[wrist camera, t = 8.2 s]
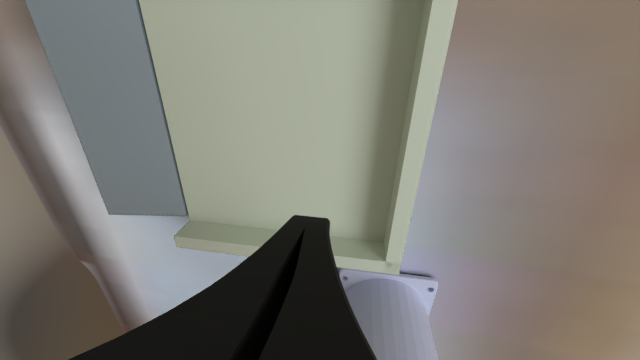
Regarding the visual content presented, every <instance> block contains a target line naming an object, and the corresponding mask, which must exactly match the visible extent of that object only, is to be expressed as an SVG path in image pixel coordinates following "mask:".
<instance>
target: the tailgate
mask: <svg viewBox="0 0 640 360" xmlns="http://www.w3.org/2000/svg"><path fill="white" fill-rule="evenodd" d="M25 2H26V4H27V7H28V9H29V12H30V14H31V17H32V19H33V22H34V25H35V27H36V30H37V32H38V35H39V37H40V40H41V42H42V45H43V48H44V50H45V53H46V55H47V58H48V60H49V63H50V65H51V68H52V71H53V73H54V76H55V78H56V81H57V83H58V86H59V88H60V91H61V94H62V96H63V99H64V101H65V104H66V106H67V109H68V111H69V114H70V116H71V119H72V122H73V124H74V127H75V129H76V132H77V134H78V137H79V139H80V142H81V145H82V147H83V150H84V152H85V155H86V157H87V160H88V162H89V165H90V168H91V170H92V173H93V175H94V178H95V180H96V183H97V185H98V188H99V191H100V193H101V196H102V198H103V201H104V203H105V206H106V208H107V211H108V214H109V215H156V216H187V215H188V210H187V206H186V201H185V197H184V193H183V188H182V184H181V180H180V176H179V171H178V167H177V163H176V158H175V154H174V150H173V145H172V141H171V137H170V132H169V128H168V124H167V120H166V115H165V111H164V107H163V102H162V98H161V94H160V89H159V85H158V81H157V76H156V72H155V68H154V64H153V59H152V55H151V51H150V46H149V42H148V38H147V33H146V29H145V25H144V20H143V16H142V12H141V8H140V3H139V0H25Z"/></svg>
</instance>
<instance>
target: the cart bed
mask: <svg viewBox="0 0 640 360" xmlns="http://www.w3.org/2000/svg"><path fill="white" fill-rule="evenodd" d="M139 3H140V8H141V12H142V16H143V20H144V25H145V29H146V33H147V38H148V42H149V46H150V51H151V55H152V59H153V64H154V68H155V72H156V76H157V81H158V85H159V89H160V94H161V98H162V102H163V107H164V111H165V115H166V120H167V124H168V128H169V132H170V137H171V141H172V145H173V150H174V154H175V158H176V163H177V167H178V171H179V176H180V180H181V184H182V188H183V193H184V197H185V201H186V206H187V210H188V214H189V219H190V221H189V222H188V223H187V224H186V225H185V226H184V227H183V228H182V229H181V230H180V231H179V232H178V233H177V234H176V235H175V236H174V239H175V243H176V246H177V247H180V248H188V249H196V250H204V251H212V252H219V253H227V254H235V255H243V256H251V255H252V254H253V253H254V252H255V251H257V250H258V249H259V248H260V247H261V246H262V245H263V244H264V243H265V242H266V241H268V240H269V239H270V238H271V237H272V236H273V235H274V234H275V233H276V232H277V231H278V230H279V229H280V228H281V227H282V226H283V225H284V224H285V223H286V222H287V221H288V220H289V219H290V218H291V217H292V216H294V215H301V216H310V217H320V218H328V220H329V221H330V241H331V247H332V251H333V255H334V259H335V263H336V267H339V268H347V269H355V270H363V271H371V272H379V273H387V274H395V275H399V272H400V268H401V263H402V258H403V254H404V249H405V244H406V240H407V235H408V230H409V226H410V221H411V217H412V212H413V207H414V203H415V198H416V193H417V189H418V184H419V179H420V175H421V170H422V165H423V161H424V156H425V151H426V147H427V142H428V138H429V133H430V128H431V124H432V119H433V114H434V110H435V105H436V100H437V96H438V91H439V86H440V82H441V77H442V73H443V68H444V63H445V59H446V54H447V49H448V45H449V40H450V35H451V31H452V26H453V21H454V17H455V12H456V7H457V3H458V0H139Z"/></svg>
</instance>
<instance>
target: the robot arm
mask: <svg viewBox="0 0 640 360" xmlns="http://www.w3.org/2000/svg"><path fill="white" fill-rule="evenodd" d="M343 276H346V277H343ZM430 287H431V288H430ZM437 288H438V282H437V280H436V279H435V278H432V277H424V276H416V275H408V274H400V273H399V275H395V274H387V273H379V272H371V271H363V270H355V269H347V268H341V269H340V272H339V273H338V270H337V267H336V263H335V259H334V255H333V251H332V247H331V241H330V221H329V220H328V218H320V217H310V216H301V215H294V216H292V217H291V218H290V219H289V220H288V221H287V222H286V223H285V224H284V225H283V226H282V227H281V228H280V229H279V230H278V231H277V232H276V233H275V234H274V235H273V236H272V237H271V238H270V239H269V240H268V241H266V242H265V243H264V244H263V245H262V246H261V247H260V248H259V249H258V250H257V251H255V252H254V253H253V254H252V255H251V256H249V257H248V258H247V259H246V260H244V261H243V262H242V263H241V264H240V265H238V266H237V267H236V268H234V269H233V270H232V271H230V272H229V273H228V274H226V275H225V276H224V277H222V278H221V279H219V280H218V281H217V282H215V283H214V284H212V285H211V286H209V287H208V288H206V289H205V290H203V291H201V292H200V293H198V294H196V295H195V296H193V297H191V298H190V299H188V300H186V301H185V302H183V303H181V304H180V305H178V306H176V307H175V308H173V309H171V310H170V311H168V312H166V313H164V314H162V315H160V316H158V317H157V318H155V319H153V320H151V321H149V322H147V323H145V324H143V325H141V326H139V327H137V328H135V329H133V330H131V331H129V332H127V333H125V334H124V335H121V336H119V337H117V338H115V339H113V340H111V341H109V342H107V343H104V344H102V345H100V346H98V347H95V348H93V349H91V350H89V351H87V352H84V353H82V354H80V355H78V356H75V357H73V358H71V359H69V360H438V356H437V352H436V348H435V344H434V340H433V336H432V332H431V328H430V324H429V320H428V317H429V314H430V310H431V307H432V304H433V301H434V298H435V294H436V291H437Z"/></svg>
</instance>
